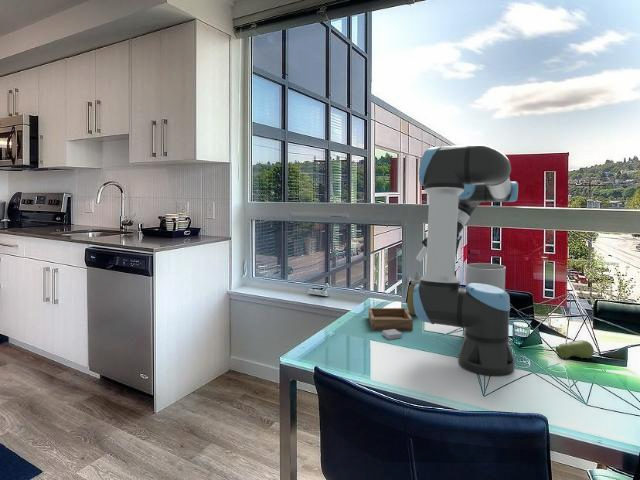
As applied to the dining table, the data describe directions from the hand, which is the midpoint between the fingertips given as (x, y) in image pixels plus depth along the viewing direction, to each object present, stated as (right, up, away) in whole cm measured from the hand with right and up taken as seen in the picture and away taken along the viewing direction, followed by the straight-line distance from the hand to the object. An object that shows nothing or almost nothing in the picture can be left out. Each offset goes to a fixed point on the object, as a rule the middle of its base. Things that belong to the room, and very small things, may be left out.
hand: (427, 264), depth 165 cm
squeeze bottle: (-4, -21, +4) cm, 22 cm away
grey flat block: (-19, -24, -22) cm, 38 cm away
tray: (-17, -22, -9) cm, 30 cm away
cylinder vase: (+13, -24, -24) cm, 36 cm away
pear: (+33, -26, -42) cm, 60 cm away
